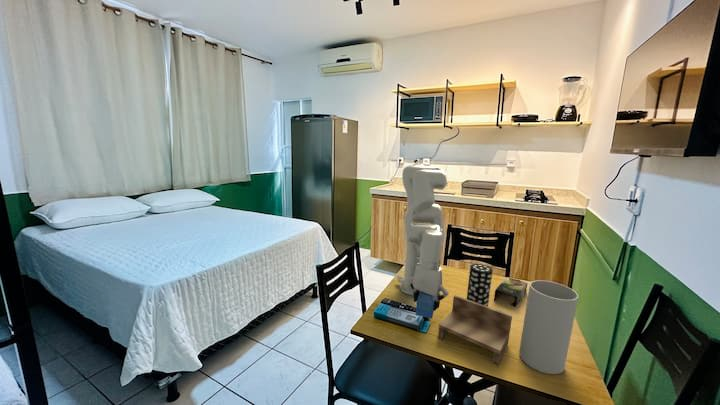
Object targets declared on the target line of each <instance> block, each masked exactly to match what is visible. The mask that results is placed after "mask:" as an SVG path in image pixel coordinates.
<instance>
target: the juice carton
mask: <svg viewBox="0 0 720 405" xmlns="http://www.w3.org/2000/svg"><path fill="white" fill-rule="evenodd" d="M500 292H501V293H502V294H503V293H504V294H507V295H508V296H512V297H514V300H513V302H511V303H510V305H511V306H512V307H515V308H516V307H518V306H519V304H520V303H521V302H522V299H523V298H524V297H525V295H526V294H527V292H528V282H526V281H523V280H522V281H521V280H520V279H517V278H516V279H515V278H511V277H508V276H507V277H506V278H505V279H504V280H503V281H502V282H501V283H499V285H498V286H497V287H496V289H495V291H494V296H493V301H496V300H495V299H497V297H498V296H499V295H500V294H501V293H500ZM499 293H500V294H499Z"/></svg>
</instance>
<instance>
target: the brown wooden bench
mask: <svg viewBox="0 0 720 405" xmlns="http://www.w3.org/2000/svg"><path fill="white" fill-rule="evenodd" d="M451 309H452V310H451V311H450V312H449V313H448V314H447V315H446V316H445V317H444V319H443V320H442V321H440V323H439V325H438V335H437V339H438V340H441V341H443V340H444V339H445V338H446V337H447V336H448V335H449V334H450V333H451V334H453V335H455V336H458V337H460V338H462V339H464V340H467V341H469V342H471V343H473V344H475V345H478V346H481V348H485V349H488V350H489V351H492V352H493V359H492V365H494V366H496V367H499V365H500V362H502V361H501V360H502V359H503V356H504V354H505V352H506V350H507V348H508V347H509V346H508V345H509V342H510V341H509V340H510V333H511V326H512V321H513V320H512V319H513V314H510V313H508V312H505V311H501V310H499V309H497V308H496V309H495V308H493V307H490V306H489V305H488V306H485V305H482V304H479V303H476V302H473V301H471V300H468V299H467V298H465V297H462V296H460V295H457V294H454V295H453V301H452V308H451Z"/></svg>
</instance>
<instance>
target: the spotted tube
mask: <svg viewBox="0 0 720 405" xmlns="http://www.w3.org/2000/svg"><path fill="white" fill-rule="evenodd" d="M492 278H493V268H492V267H490V266H489V265H486V264H483V263H472V264H470V265H469V274H468V283H467V291H466V299H468V300H471V301H473V302H476V303H479V304H482V305H485V306H488V307H489V303H490V302H489V301H490V293H491V292H490V291H491V284H492Z"/></svg>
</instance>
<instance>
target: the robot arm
mask: <svg viewBox="0 0 720 405" xmlns="http://www.w3.org/2000/svg"><path fill="white" fill-rule="evenodd" d="M401 176H402V177H401V178H402V183H403V188H404V191H405V192H406V201H407V202H406V204H407V211H406V212H405V215H404V216H405V217H404V233H405V234H404V236H405V261H404V275H403V276H401V275H398V276H397V280H396V281H397V282H399V283H401V284H400V287H399V289H400V292H402V293H404V294H405V295H408V296H412V297H413V302H414V303H417V299H418V296H419V293H420V291H422V292H425V293H427V294H430V295H432V296H434V298H435V301H434V306H433V310H434V312H435V311H436V310H437V309H439V308H440V304H441V301H442V300H444V299H445V298H446V297H447V296H449V294H450V293H449V291H448V290H447V289H446V288H445V287H444V286H443V270H442V267H441V261H442V252H443V244H444V242H445V227H444V214H443V208H442V207H441V206H440V205H439V204H438V203H435V202H436V198H435V190H444V189H445V188H446V187H447V174H446V173H445V171H444V170H443V168H441V167H439V166H435V165H407V166H405V167H404V168H403V170H402V175H401ZM441 293H442V294H441Z"/></svg>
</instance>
